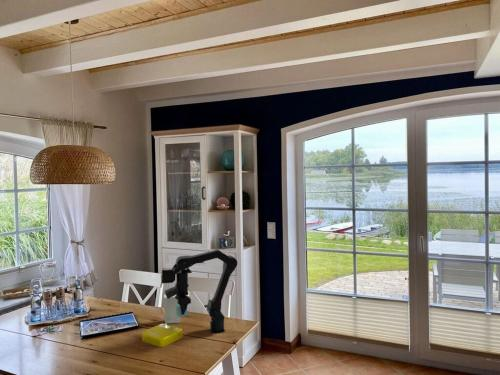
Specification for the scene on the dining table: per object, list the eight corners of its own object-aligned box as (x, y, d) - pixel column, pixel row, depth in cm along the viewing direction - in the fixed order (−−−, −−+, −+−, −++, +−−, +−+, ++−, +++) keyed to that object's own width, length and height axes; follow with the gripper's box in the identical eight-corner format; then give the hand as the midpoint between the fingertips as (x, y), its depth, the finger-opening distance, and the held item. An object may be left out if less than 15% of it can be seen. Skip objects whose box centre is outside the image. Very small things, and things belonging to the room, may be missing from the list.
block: (186, 312, 194) (186, 302, 194) (187, 316, 189) (187, 306, 189) (176, 313, 192) (176, 303, 192) (177, 317, 187) (177, 307, 187)
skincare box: (179, 319, 213) (179, 292, 212) (180, 323, 207) (179, 296, 206) (164, 320, 211) (164, 294, 211) (164, 324, 205) (163, 297, 205)
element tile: (140, 341, 185) (140, 331, 185) (162, 330, 198) (162, 321, 197) (162, 348, 177) (162, 338, 177) (184, 337, 189) (184, 327, 189)
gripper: (164, 278, 197) (163, 308, 197) (167, 288, 179) (167, 321, 179) (185, 277, 200) (185, 306, 200) (191, 286, 182) (191, 318, 183)
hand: (182, 312), depth 190 cm, fingers closed on block, 5 cm apart
